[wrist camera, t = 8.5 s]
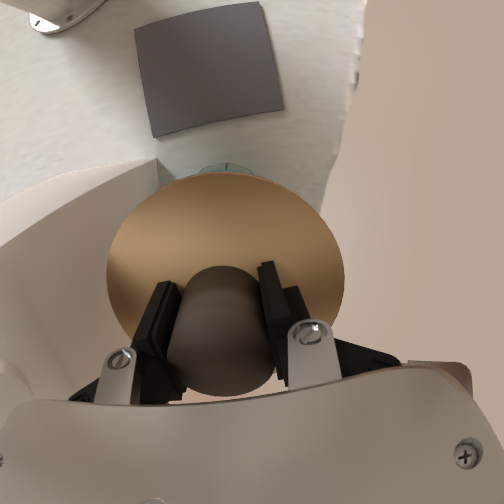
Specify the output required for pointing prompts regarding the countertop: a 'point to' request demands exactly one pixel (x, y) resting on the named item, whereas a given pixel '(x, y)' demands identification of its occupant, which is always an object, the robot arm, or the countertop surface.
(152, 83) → the mat
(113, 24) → the countertop surface
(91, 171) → the milk
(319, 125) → the countertop surface
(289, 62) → the countertop surface
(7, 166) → the countertop surface
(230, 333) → the lid
